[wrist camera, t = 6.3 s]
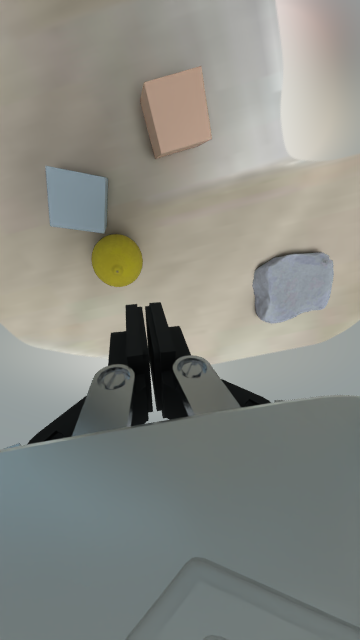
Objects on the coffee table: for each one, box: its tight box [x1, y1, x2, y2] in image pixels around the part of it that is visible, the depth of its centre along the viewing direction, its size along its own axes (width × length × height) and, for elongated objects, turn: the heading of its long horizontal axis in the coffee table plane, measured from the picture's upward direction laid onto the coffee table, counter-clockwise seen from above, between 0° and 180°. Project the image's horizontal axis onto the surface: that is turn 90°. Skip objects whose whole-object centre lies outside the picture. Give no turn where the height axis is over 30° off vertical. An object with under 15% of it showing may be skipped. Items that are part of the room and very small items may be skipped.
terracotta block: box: [140, 66, 212, 159], centre depth 23 cm, size 5×5×5 cm
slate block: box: [46, 166, 108, 233], centre depth 25 cm, size 5×5×5 cm
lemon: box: [92, 234, 143, 287], centre depth 27 cm, size 6×6×8 cm
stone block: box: [253, 252, 334, 323], centre depth 37 cm, size 12×5×10 cm
